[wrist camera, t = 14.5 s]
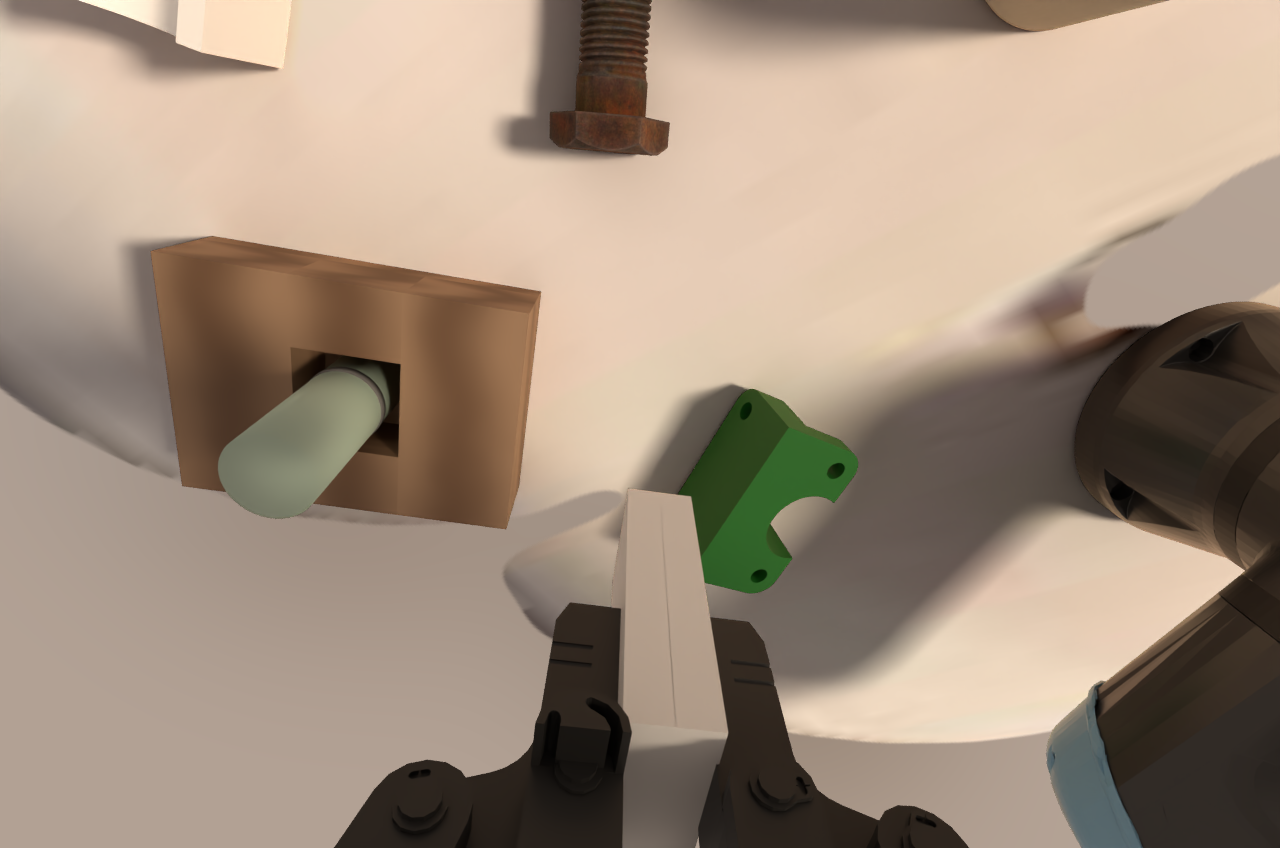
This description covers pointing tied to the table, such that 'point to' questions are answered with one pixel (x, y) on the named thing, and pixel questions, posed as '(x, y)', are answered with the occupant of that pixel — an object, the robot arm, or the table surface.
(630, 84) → the bolt
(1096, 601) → the table surface
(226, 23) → the bracket
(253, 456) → the peg
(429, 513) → the board
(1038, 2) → the travel mug
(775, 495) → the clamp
